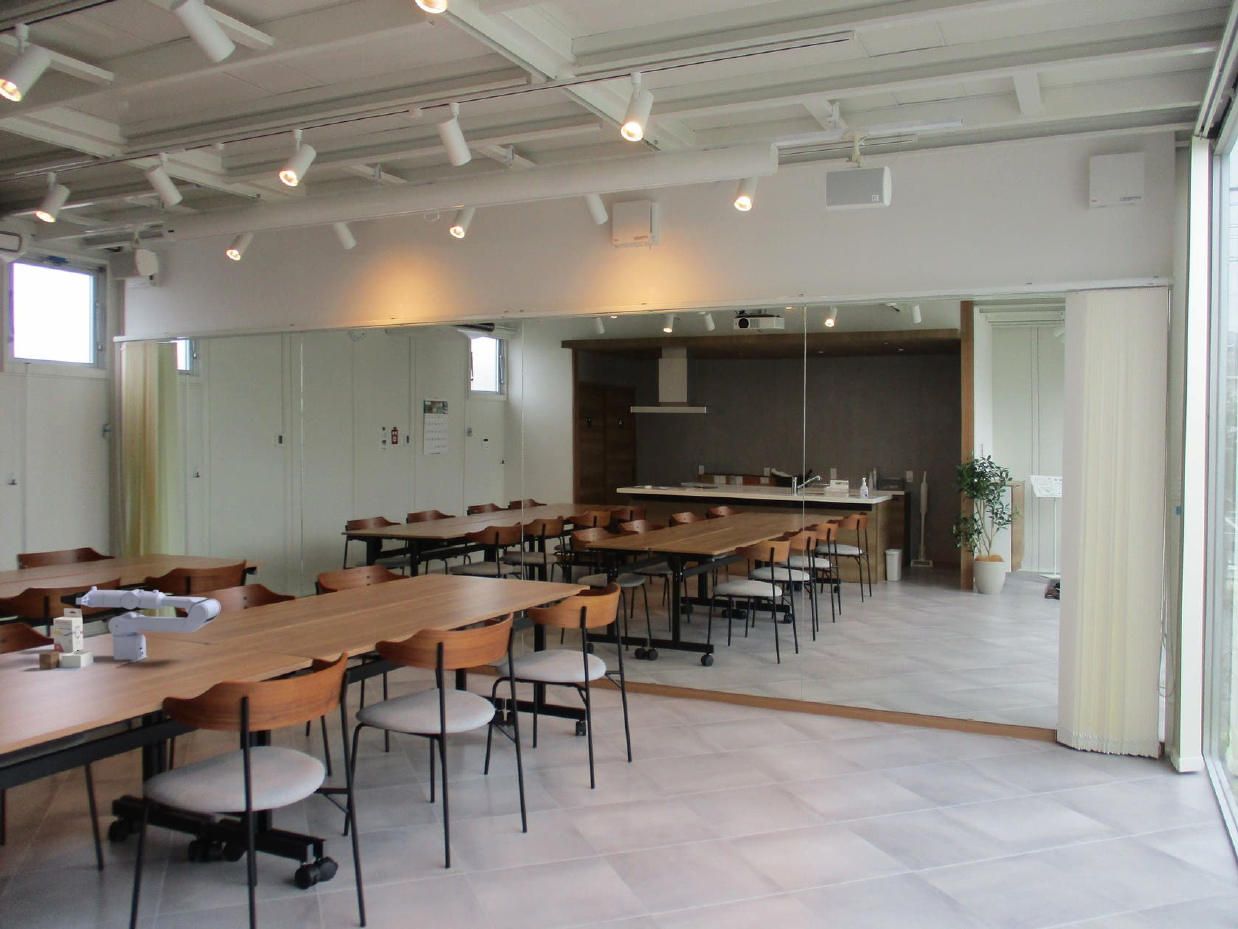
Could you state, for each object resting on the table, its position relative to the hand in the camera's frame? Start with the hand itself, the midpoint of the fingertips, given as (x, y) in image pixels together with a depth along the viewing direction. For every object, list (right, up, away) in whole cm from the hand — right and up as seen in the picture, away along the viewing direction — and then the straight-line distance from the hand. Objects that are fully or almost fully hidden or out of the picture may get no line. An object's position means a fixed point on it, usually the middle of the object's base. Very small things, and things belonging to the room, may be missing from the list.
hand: (68, 597), depth 317 cm
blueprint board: (+7, -22, -12) cm, 26 cm away
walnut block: (+3, -21, -15) cm, 25 cm away
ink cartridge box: (-9, -21, +16) cm, 28 cm away
